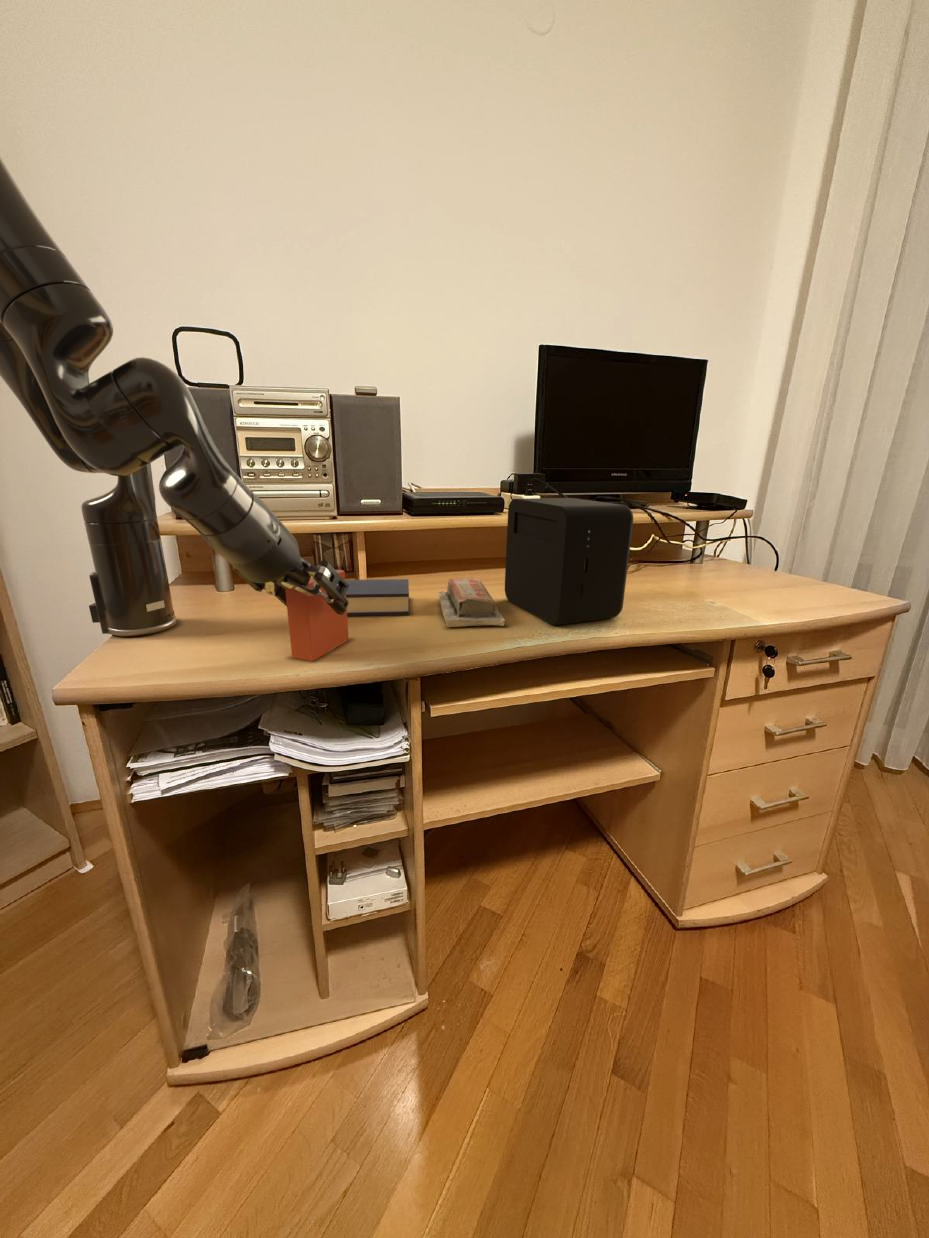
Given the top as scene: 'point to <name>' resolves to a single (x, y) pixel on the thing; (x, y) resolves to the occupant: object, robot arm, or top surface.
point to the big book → (377, 597)
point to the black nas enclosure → (567, 558)
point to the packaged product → (468, 604)
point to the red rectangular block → (314, 624)
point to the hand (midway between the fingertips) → (318, 605)
